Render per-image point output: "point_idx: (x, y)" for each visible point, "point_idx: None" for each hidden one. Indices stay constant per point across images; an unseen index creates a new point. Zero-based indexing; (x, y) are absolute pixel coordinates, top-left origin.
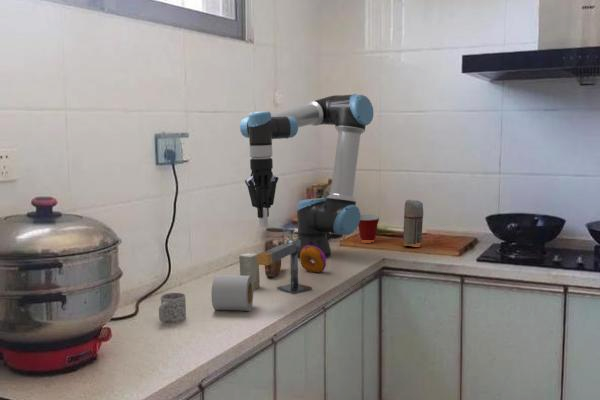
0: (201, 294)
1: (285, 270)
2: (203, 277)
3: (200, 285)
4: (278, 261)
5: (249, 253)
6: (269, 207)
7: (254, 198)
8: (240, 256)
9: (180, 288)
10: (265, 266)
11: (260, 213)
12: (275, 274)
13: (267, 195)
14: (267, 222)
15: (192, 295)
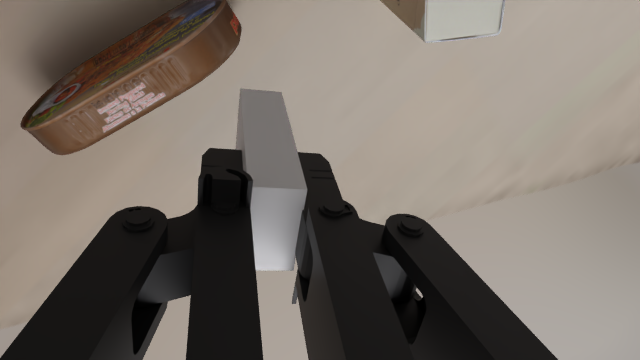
0: (579, 45)
1: (39, 58)
2: (377, 220)
3: (473, 146)
4: (65, 94)
5: (434, 16)
6: (226, 170)
7: (506, 312)
8: (500, 20)
9: (536, 165)
10: (240, 27)
11: (331, 179)
12: (151, 26)
13: (231, 330)
14: (245, 106)
15: (602, 61)
